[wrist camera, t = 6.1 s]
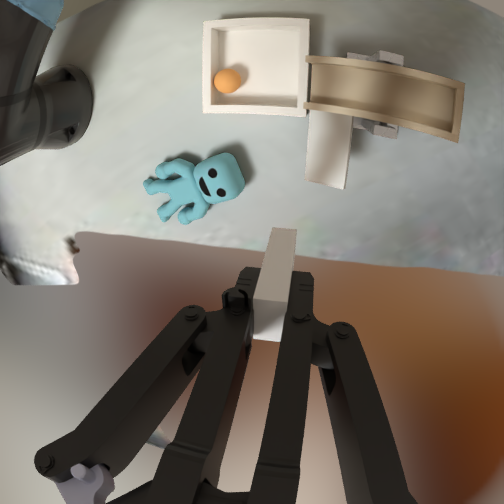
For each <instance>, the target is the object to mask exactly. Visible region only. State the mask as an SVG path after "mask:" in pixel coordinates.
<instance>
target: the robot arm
mask: <svg viewBox="0 0 504 504" xmlns="http://www.w3.org/2000/svg"><path fill="white" fill-rule="evenodd" d="M63 6H64V0H0V166H1V165H3V164H5V163H7V162H9V161H11V160H13V159H15V158H17V157H19V156H21V155H23V154H25V153H27V152H30V151H32V150H34V149H62V148H65V147H67V146H70V145H72V144H74V143H76V142H77V141H78V140H79V139H80V138H81V137H82V135H83V134H84V132H85V131H86V129H87V126H88V124H89V121H90V117H91V111H92V93H91V88H90V84H89V82H88V79H87V77H86V76H85V74H84V73H83V72H82V71H81V70H80V69H79V68H77V67H75V66H72V65H63V66H56V67H53V68H51V69H49V70H47V71H45V72H44V73H42V74H40V75H38V76H36V75H37V72H38V69H39V66H40V63H41V60H42V57H43V55H44V52H45V50H46V47H47V45H48V42H49V40H50V37H51V35H52V33H53V30H54V31H55V28H56V26H55V25H56V22H57V20H58V18H59V15H60V13H61V11H62V9H63ZM296 232H297V230H296V229H285V228H272V231H271V235H270V239H269V242H268V246H267V250H266V253H265V257H264V261H263V264H262V268H254V267H245V268H244V269H243V270H242V271H241V272H240V274H239V277H238V280H237V282H236V285H235V287H234V288H230V289H227V290H226V291H224V292H223V294H222V303H223V309H221V310H218V311H212V312H205V310H204V309H203V308H202V307H200V306H197V305H189V306H186V307H184V308H182V309H181V310H180V311H179V312H178V313H177V314H176V316H175V317H174V318H173V319H172V320H171V321H170V322H169V323H168V324H167V326H166V327H165V328H164V329H163V330H162V331H161V332H160V333H159V335H158V336H157V337H156V338H155V339H154V340H153V341H152V342H151V343H150V344H149V346H148V347H147V348H146V349H145V350H144V351H143V352H142V353H141V355H140V356H139V357H138V358H137V359H136V360H135V361H134V362H133V364H132V365H131V366H130V367H129V368H128V369H127V370H126V372H125V373H124V374H123V375H122V376H121V377H120V378H119V379H118V381H117V382H116V383H115V384H114V385H113V386H112V388H111V389H110V390H109V391H108V392H107V393H106V394H105V396H104V397H103V398H102V399H101V400H100V401H99V402H98V404H97V405H96V406H95V407H94V408H93V409H92V410H91V411H90V413H89V414H88V415H87V416H86V417H85V419H84V420H83V421H82V422H81V423H80V424H79V426H77V428H76V429H75V430H74V431H72V432H70V433H68V434H67V435H65V436H63V437H61V438H59V439H57V440H56V441H54V442H52V443H50V444H48V445H46V446H44V447H42V448H41V449H40V450H38V451H37V453H36V455H35V459H34V463H35V467H36V469H37V471H38V472H39V473H40V474H41V475H43V476H44V477H46V478H48V479H50V480H52V481H54V482H55V483H56V485H57V487H58V489H59V491H60V493H61V495H62V496H63V498H64V500H65V502H66V504H105V500H106V498H107V496H108V495H109V494H110V493H111V492H113V491H114V489H115V486H114V479H113V478H114V477H116V476H117V475H118V474H119V473H121V472H122V471H123V470H124V469H125V468H126V467H127V466H128V465H129V463H130V462H131V461H132V460H133V459H134V457H135V456H136V455H137V453H138V452H139V450H140V449H141V448H142V447H143V445H144V444H145V443H146V441H147V440H148V439H149V437H150V436H151V435H152V433H153V432H154V431H155V429H156V428H157V427H158V425H159V424H160V423H161V421H162V420H163V419H164V417H165V416H166V415H167V413H168V412H169V411H170V409H171V408H172V406H173V405H174V404H175V402H176V401H177V400H178V398H179V397H180V396H181V394H182V393H183V391H184V390H185V389H186V387H187V386H188V384H189V383H190V382H191V380H192V379H193V377H194V376H195V375H196V373H197V372H198V371H199V369H200V371H199V373H198V376H197V379H196V381H195V384H194V387H193V389H192V392H191V395H190V398H189V400H188V403H187V406H186V408H185V411H184V414H183V417H182V419H181V422H180V425H179V427H178V430H177V433H176V436H175V438H174V440H173V442H171V443H170V444H168V445H167V446H166V448H165V450H164V452H163V454H162V457H161V459H160V462H159V465H158V468H157V470H156V473H155V476H154V478H153V480H151V481H149V482H147V483H145V484H143V485H141V486H139V487H138V488H136V489H134V490H132V491H130V492H128V493H126V494H124V495H122V496H120V497H118V498H116V499H114V500H112V501H110V502H108V503H106V504H295V503H296V497H297V491H298V485H299V479H300V458H301V451H302V444H303V437H304V428H305V419H306V410H307V401H308V390H309V379H310V367H311V364H314V365H316V366H318V368H319V372H320V377H321V381H322V385H323V389H324V394H325V398H326V403H327V407H328V412H329V416H330V420H331V425H332V429H333V434H334V439H335V444H336V448H337V454H338V459H339V464H340V468H341V474H342V479H343V484H344V489H345V495H346V501H347V504H418V503H417V502H416V500H415V499H414V498H413V497H412V495H411V494H410V493H409V491H408V488H407V483H406V480H405V476H404V472H403V468H402V465H401V461H400V458H399V454H398V451H397V447H396V444H395V441H394V437H393V434H392V431H391V428H390V424H389V421H388V418H387V415H386V412H385V409H384V406H383V403H382V400H381V397H380V394H379V391H378V388H377V385H376V383H375V380H374V377H373V374H372V371H371V369H370V366H369V363H368V361H367V358H366V355H365V352H364V350H363V347H362V345H361V342H360V339H359V337H358V334H357V332H356V330H355V328H354V327H353V326H352V325H350V324H348V323H345V322H336V323H333V324H332V325H330V326H329V325H326V324H324V323H321V322H320V321H318V320H317V319H316V318H315V316H314V314H313V291H314V287H313V286H314V278H313V276H312V275H311V273H310V272H300V271H293V267H294V256H295V244H296ZM252 337H253V338H254V339H260V340H268V341H276V342H280V347H279V353H278V359H277V365H276V370H275V377H274V382H273V387H272V393H271V398H270V403H269V409H268V414H267V419H266V424H265V429H264V434H263V438H262V443H261V448H260V453H259V457H258V461H257V464H256V468H255V472H254V477H253V481H252V485H251V490H250V492H231V493H230V492H229V493H228V492H223V491H221V490H219V489H217V485H218V481H219V476H220V467H221V463H222V459H223V455H224V452H225V448H226V444H227V441H228V437H229V433H230V430H231V426H232V422H233V418H234V414H235V410H236V407H237V402H238V399H239V395H240V391H241V387H242V383H243V379H244V376H245V372H246V367H247V363H248V359H249V355H250V351H251V347H252V345H251V341H252Z"/></svg>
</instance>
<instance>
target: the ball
mask: <svg viewBox="0 0 504 504" xmlns="http://www.w3.org/2000/svg"><path fill="white" fill-rule="evenodd" d="M214 85H215V87H216V88H217V90H219V91H220V92H222V93H233V92H235V91H236V90H237V89H238V88H239V87H240V85H241V77H240V75H239V73H238V72H237V71H235V70H233V69H223V70H221V71H219V72H218V73H217V74H216V76H215V78H214Z"/></svg>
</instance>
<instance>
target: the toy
mask: <svg viewBox="0 0 504 504" xmlns="http://www.w3.org/2000/svg"><path fill="white" fill-rule="evenodd" d="M155 172H156V175H157V177H158V178H160V179H159V180H156V181H153V180H152V179H147V180H145V181H144V182H143V185H144V187H145V189H146V191H147V193H148V194H149V195H153V194H156V193H159V192H162V193H168V194H169V196H170V198H171V200H170V201H169V203H167V204H165V205H162V206H161V207H159V208H158V210H157V213H158V215H159V217H160V219H161V221H162V222H166V221H167V220H168V219H169V218H170V215H173V214H174V213H175V212H176V211H177V210H178V209H179V208H180V207H181V206H182V205H185V204H188V203H191V202H194V203H195V205H194V207H192V208H189V207H185V208H183V209H182V210H181V211H180V212H179V213H178V220H179V222H180V223H182V224H184V225H187V224H189V223H191V222H192V221H193V220H197V219H200V218H202V217H204V216H205V214H206V212H207V210H208V208H209V205H210V203H211V204H217V203H220V202H224V201H227V200H231V199H234V198H236V197H237V196H238V195H239V194H240V193H241V192H242V191H243V189H244V186H245V181H244V178H243V176H242V173H241V171H240V168H239V166H238V164H237V161H236V159H235V157H234V156H233V155H231V154H229V153H221V154H218V155H215V156H213V157H210V158H208V159H205V160H203V161H202V162H200V163H199V164H197V165H196V167H195V166H194V164H192V163H190V162H188V161H185V160H183V159H181V158H177V159H175V160H173V161H170V162H163V163H161V164H159V165H158V166H157V167H156V170H155ZM173 173H177V174H179V175H181V176H182V177H180V178H177V179H175V180H164V179H166V178H168V177H169V176H171V175H172V174H173Z"/></svg>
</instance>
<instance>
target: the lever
mask: <svg viewBox="0 0 504 504" xmlns="http://www.w3.org/2000/svg"><path fill="white" fill-rule="evenodd" d="M305 62H307V63H310V64H312V76H311V97H310V102H304V103H303V109H309V110H310V114H309V130H308V144H307V157H306V169H305V180H306V181H311V182H315V183H319V184H323V185H327V186H331V187H335V188H339V189H343V190H344V189H345V187H346V180H347V173H348V165H349V157H350V149H351V140H352V131H353V121H354V116H355V117H361V118H366V119H371V120H376V121H380V122H385V123H389V124H393V125H398V126H402V127H406V128H409V129H413V130H417V131H420V132H424V133H427V134H431V135H434V136H437V137H441V138H444V139H447V140H450V141H453V142H456V143H458V139H459V133H460V126H461V118H462V110H463V100H464V88H465V83H462V82H459V81H456V80H452V79H449V78H446V77H442V76H439V75H435V74H431V73H427V72H423V71H419V70H415V69H411V68H406V67H401V66H396V65H391V64H385V63H379V62H373V61H366V60H358V59H350V58H340V57H328V56H310V55H305Z"/></svg>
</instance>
